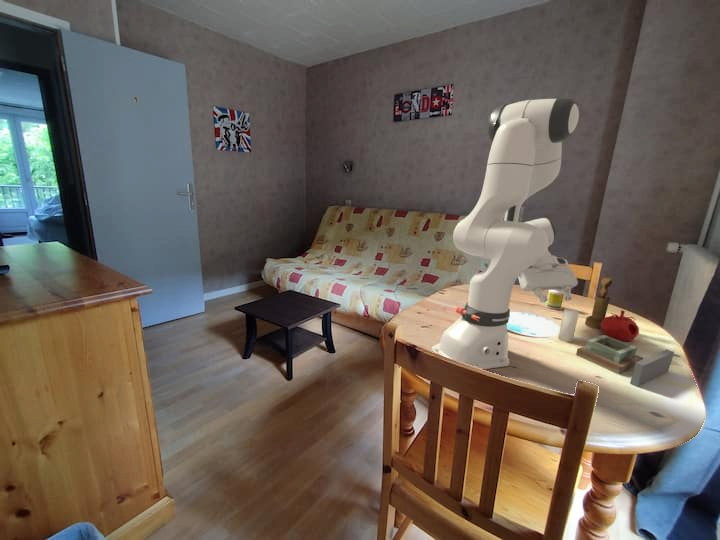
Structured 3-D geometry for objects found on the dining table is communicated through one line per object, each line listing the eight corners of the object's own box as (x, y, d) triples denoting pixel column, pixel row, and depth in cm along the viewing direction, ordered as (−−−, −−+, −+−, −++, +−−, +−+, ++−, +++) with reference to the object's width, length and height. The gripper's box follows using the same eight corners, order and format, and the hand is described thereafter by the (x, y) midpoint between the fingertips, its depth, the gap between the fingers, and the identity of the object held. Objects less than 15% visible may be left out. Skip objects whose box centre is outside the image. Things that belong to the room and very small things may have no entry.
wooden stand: (586, 327, 113) (597, 279, 108) (583, 320, 119) (593, 274, 114) (609, 331, 110) (621, 281, 106) (605, 324, 116) (616, 277, 111)
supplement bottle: (563, 310, 128) (567, 287, 126) (548, 309, 129) (552, 286, 127) (557, 305, 134) (562, 283, 131) (543, 304, 135) (547, 282, 132)
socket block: (618, 374, 85) (622, 357, 84) (576, 354, 94) (579, 339, 93) (641, 364, 90) (646, 348, 89) (599, 346, 100) (602, 332, 98)
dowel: (567, 343, 101) (574, 314, 99) (555, 337, 105) (561, 309, 102) (575, 340, 103) (581, 312, 100) (563, 335, 106) (568, 307, 104)
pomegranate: (597, 338, 106) (602, 312, 103) (600, 328, 113) (605, 303, 111) (636, 347, 100) (642, 319, 97) (636, 336, 107) (642, 310, 105)
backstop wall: (637, 386, 80) (643, 365, 78) (629, 383, 81) (635, 362, 79) (668, 371, 86) (674, 352, 85) (660, 368, 88) (666, 349, 86)
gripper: (519, 261, 109) (535, 298, 102) (570, 259, 113) (589, 295, 106) (509, 270, 114) (524, 306, 108) (558, 268, 118) (575, 302, 112)
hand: (556, 300), depth 107 cm, fingers open, 8 cm apart
